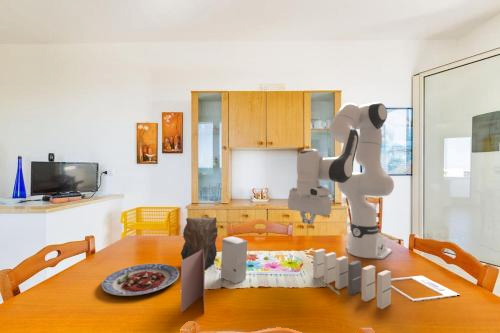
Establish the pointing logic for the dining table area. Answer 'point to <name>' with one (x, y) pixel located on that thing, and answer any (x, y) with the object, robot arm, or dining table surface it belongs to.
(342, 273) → the domino
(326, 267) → the domino
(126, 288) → the ceramic plate
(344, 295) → the dining table surface
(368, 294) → the domino
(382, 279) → the domino
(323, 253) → the domino
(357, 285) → the domino
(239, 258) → the skincare box
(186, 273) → the greeting card
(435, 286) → the photo frame
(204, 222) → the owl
